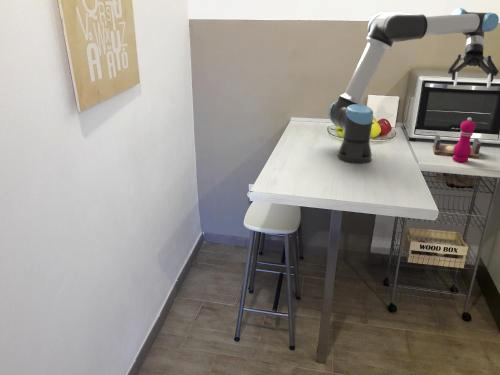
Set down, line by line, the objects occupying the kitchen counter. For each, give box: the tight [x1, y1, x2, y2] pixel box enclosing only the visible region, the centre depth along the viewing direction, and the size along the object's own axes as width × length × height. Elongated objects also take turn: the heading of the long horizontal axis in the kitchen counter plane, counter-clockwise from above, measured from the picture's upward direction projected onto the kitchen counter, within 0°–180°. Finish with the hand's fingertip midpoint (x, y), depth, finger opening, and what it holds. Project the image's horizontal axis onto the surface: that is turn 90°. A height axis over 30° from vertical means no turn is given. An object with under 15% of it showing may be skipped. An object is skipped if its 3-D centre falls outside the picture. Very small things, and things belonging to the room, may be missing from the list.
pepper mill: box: [452, 117, 476, 164], centre depth 179 cm, size 7×7×20 cm
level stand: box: [431, 134, 482, 160], centre depth 192 cm, size 19×12×6 cm, turn 71°
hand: (471, 86), depth 181 cm, fingers open, 13 cm apart
